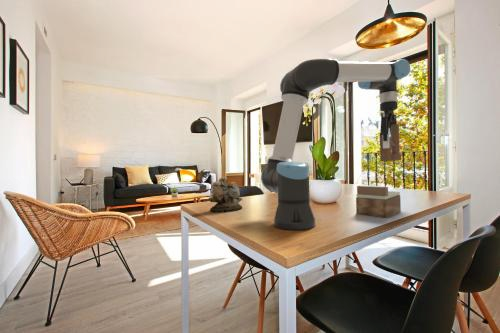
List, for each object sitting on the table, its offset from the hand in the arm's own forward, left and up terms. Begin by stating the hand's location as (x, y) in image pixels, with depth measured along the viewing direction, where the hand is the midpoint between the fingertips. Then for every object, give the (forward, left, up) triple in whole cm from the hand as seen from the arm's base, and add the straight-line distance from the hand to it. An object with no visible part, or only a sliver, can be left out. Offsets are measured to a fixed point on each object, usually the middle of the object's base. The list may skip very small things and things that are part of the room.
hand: (389, 148), depth 125 cm
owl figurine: (-58, -58, -29) cm, 87 cm away
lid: (+2, -20, -21) cm, 29 cm away
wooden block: (0, +1, -7) cm, 7 cm away
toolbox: (+2, -20, -28) cm, 35 cm away
